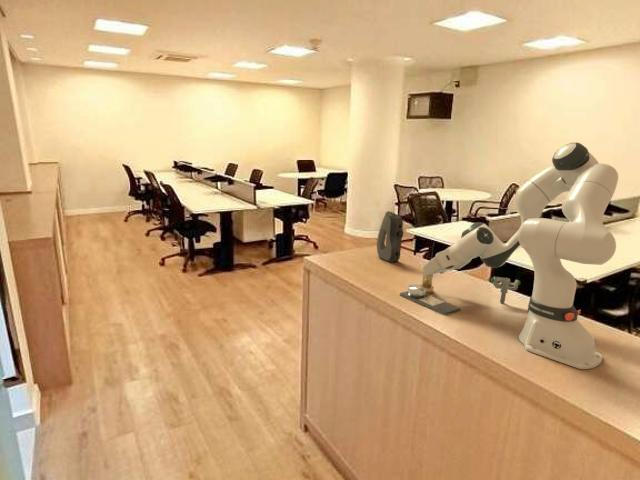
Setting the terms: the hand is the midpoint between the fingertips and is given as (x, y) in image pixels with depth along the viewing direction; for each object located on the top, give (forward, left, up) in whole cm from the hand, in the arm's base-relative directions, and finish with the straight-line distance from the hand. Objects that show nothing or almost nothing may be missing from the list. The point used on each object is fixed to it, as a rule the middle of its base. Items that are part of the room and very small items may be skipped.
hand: (432, 274), depth 168 cm
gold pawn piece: (+2, +1, -8) cm, 8 cm away
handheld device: (+43, -17, -8) cm, 47 cm away
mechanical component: (-22, -16, -8) cm, 28 cm away
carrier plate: (-7, +10, -8) cm, 14 cm away
